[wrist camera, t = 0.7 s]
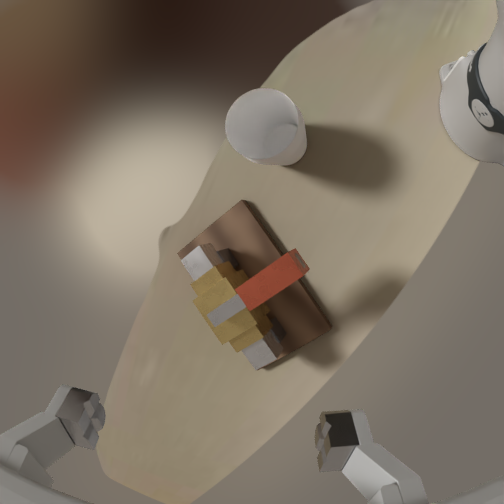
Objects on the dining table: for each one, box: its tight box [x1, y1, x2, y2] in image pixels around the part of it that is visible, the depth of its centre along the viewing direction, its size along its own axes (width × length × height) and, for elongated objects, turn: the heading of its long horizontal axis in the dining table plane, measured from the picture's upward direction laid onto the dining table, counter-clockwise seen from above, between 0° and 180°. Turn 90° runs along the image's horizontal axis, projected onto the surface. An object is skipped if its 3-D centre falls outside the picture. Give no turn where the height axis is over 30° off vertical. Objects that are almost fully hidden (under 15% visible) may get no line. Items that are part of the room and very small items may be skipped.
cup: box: [225, 88, 307, 166], centre depth 39 cm, size 9×9×12 cm
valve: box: [181, 243, 287, 370], centre depth 44 cm, size 6×18×8 cm, turn 37°
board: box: [177, 200, 332, 370], centre depth 49 cm, size 14×23×2 cm, turn 37°
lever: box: [207, 248, 309, 327], centre depth 36 cm, size 13×3×5 cm, turn 127°
